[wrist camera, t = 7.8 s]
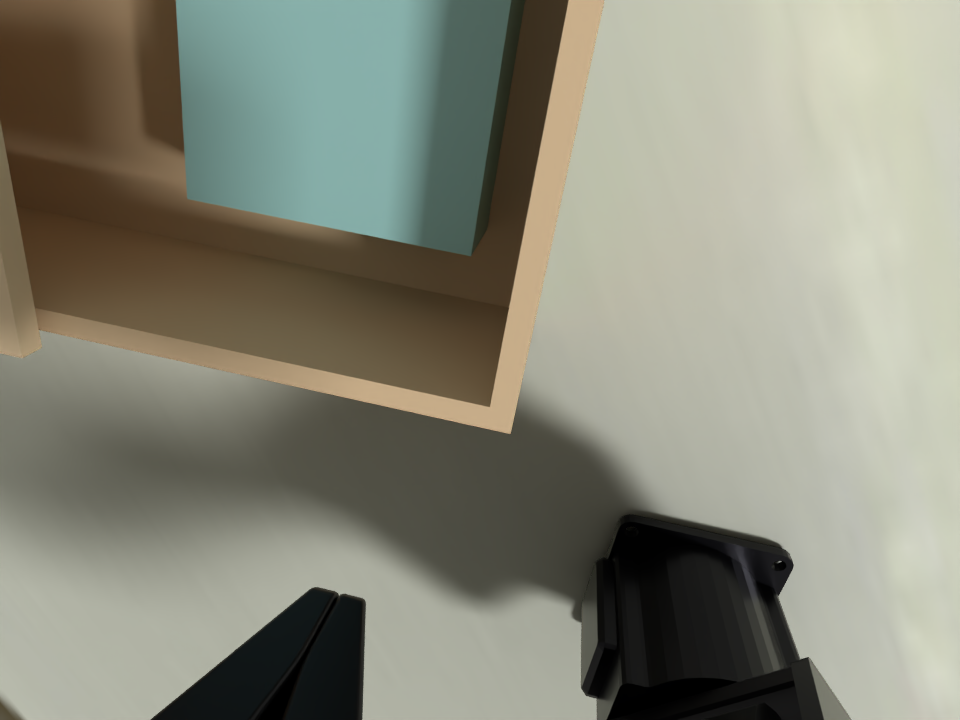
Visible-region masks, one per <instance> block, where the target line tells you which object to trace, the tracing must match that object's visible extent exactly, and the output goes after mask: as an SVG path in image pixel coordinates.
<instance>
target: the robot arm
mask: <svg viewBox="0 0 960 720" xmlns="http://www.w3.org/2000/svg"><path fill="white" fill-rule="evenodd" d="M628 527H635V528H636V529H635V530H627V529H626V528H628ZM776 561H781V562H780V563H774V562H776ZM793 566H794V565H793V562H792V559H791V557H790V554H789V553H788V552H787V551H786V550H784V549H781V548H777V547H773V546H768V545H764V544H760V543H755V542H751V541H746V540H742V539H738V538H733V537H729V536H724V535H720V534H716V533H711V532H707V531H702V530H698V529H694V528H689V527H685V526H680V525H676V524H672V523H667V522H663V521H658V520H654V519H649V518H645V517H641V516H636V515H626V516H623V517H622V518H620V520H619V521H618V523H617V526H616V529H615V532H614V535H613V538H612V541H611V544H610V547H609V550H608V553H607V556H606V558H600V559H599V560H597V561H596V562H595V565H594V568H593V571H592V574H591V577H590V580H589V583H588V586H587V589H586V592H585V596H584V599H583V602H582V630H581V689H582V690H583V692H584V693H585V695H586V696H589V697H593V698H597V720H851V718H850V717H849V715H848V714H847V712H846V711H845V709H844V708H843V706H842V705H841V703H840V702H839V700H838V699H837V698H836V696H835V695H834V693H833V692H832V690H831V689H830V687H829V686H828V684H827V683H826V681H825V680H824V678H823V677H822V675H821V674H820V672H819V671H818V669H817V668H816V667H815V665H814V664H813V662H812V661H811V659H810V658H809V657H807V658H804V659H800V657H799V654H798V651H797V648H796V646H795V643H794V640H793V637H792V634H791V632H790V629H789V626H788V623H787V620H786V618H785V615H784V612H783V609H782V606H781V604H780V601H779V598H778V596H779V594H780V592H781V590H782V588H783V587H784V585H785V583H786V581H787V579H788V577H789V575H790V573H791V571H792V570H793ZM365 612H366V602H365V600H364V599H363V598H359V597H355V596H351V595H347V594H341V595H340V596H339V594H338V593H337V592H335V591H331V590H327V589H323V588H319V587H314V588H311V589H310V590H308V591H307V592H306V593H305V594H304V595H302V596H301V597H300V598H299V599H297V600H296V601H295V602H294V603H293V604H291V605H290V606H289V607H288V608H286V609H285V610H284V611H283V612H282V613H280V614H279V615H278V616H277V617H275V618H274V619H273V620H272V621H271V622H269V623H268V624H267V625H266V626H264V627H263V628H262V629H261V630H260V631H258V632H257V633H256V634H255V635H253V636H252V637H251V638H250V639H249V640H247V641H246V642H245V643H244V644H242V645H241V646H240V647H239V648H238V649H236V650H235V651H234V652H233V653H231V654H230V655H229V656H228V657H227V658H225V659H224V660H223V661H222V662H220V663H219V664H218V665H217V666H216V667H214V668H213V669H212V670H211V671H209V672H208V673H207V674H206V675H205V676H203V677H202V678H201V679H200V680H198V681H197V682H196V683H195V684H194V685H192V686H191V687H190V688H189V689H187V690H186V691H185V692H184V693H183V694H181V695H180V696H179V697H178V698H176V699H175V700H174V701H173V702H172V703H170V704H169V705H168V706H167V707H165V708H164V709H163V710H162V711H160V712H159V713H158V714H157V715H156V716H154V717H153V718H152V719H151V720H362V712H363V679H364V646H365Z"/></svg>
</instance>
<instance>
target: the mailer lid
mask: <svg viewBox="0 0 960 720" xmlns="http://www.w3.org/2000/svg"><path fill="white" fill-rule="evenodd" d="M41 348H42V345H41V339H40V334H39V329H38V323H37V318H36V312H35V307H34V301H33V296H32V290H31V285H30V279H29V274H28V269H27V263H26V258H25V252H24V247H23V241H22V236H21V230H20V225H19V220H18V214H17V209H16V203H15V198H14V192H13V187H12V181H11V176H10V171H9V165H8V160H7V154H6V149H5V143H4V138H3V132H2V127H1V122H0V353H2V354H6V355H10V356H15V357H19V358H24V357H26V356H27V355H29V354H31V353H33V352H35V351H37V350H39V349H41Z"/></svg>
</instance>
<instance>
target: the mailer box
mask: <svg viewBox="0 0 960 720" xmlns="http://www.w3.org/2000/svg"><path fill="white" fill-rule="evenodd" d="M603 4H604V0H0V122H1V127H2V132H3V138H4V143H5V149H6V154H7V160H8V165H9V171H10V176H11V181H12V187H13V192H14V198H15V203H16V209H17V214H18V220H19V225H20V230H21V236H22V241H23V247H24V252H25V258H26V263H27V269H28V274H29V279H30V285H31V290H32V296H33V301H34V307H35V312H36V318H37V323H38V329H39V330H42V331H46V332H51V333H55V334H60V335H64V336H69V337H73V338H78V339H82V340H87V341H92V342H96V343H101V344H105V345H110V346H114V347H119V348H123V349H128V350H132V351H137V352H141V353H146V354H150V355H155V356H159V357H164V358H168V359H173V360H177V361H182V362H187V363H191V364H196V365H200V366H205V367H209V368H214V369H218V370H223V371H227V372H232V373H236V374H241V375H245V376H250V377H254V378H259V379H263V380H268V381H273V382H277V383H282V384H286V385H291V386H295V387H300V388H304V389H309V390H313V391H318V392H322V393H327V394H331V395H336V396H340V397H345V398H349V399H354V400H358V401H363V402H368V403H372V404H377V405H381V406H386V407H390V408H395V409H399V410H404V411H408V412H413V413H417V414H422V415H426V416H431V417H435V418H440V419H444V420H449V421H454V422H458V423H463V424H467V425H472V426H476V427H481V428H485V429H490V430H494V431H499V432H503V433H508V434H511V430H512V425H513V420H514V416H515V411H516V406H517V402H518V397H519V393H520V388H521V383H522V379H523V374H524V370H525V365H526V360H527V356H528V351H529V346H530V342H531V337H532V333H533V328H534V323H535V319H536V314H537V309H538V305H539V300H540V296H541V291H542V286H543V282H544V277H545V272H546V268H547V263H548V259H549V254H550V249H551V245H552V240H553V235H554V231H555V226H556V222H557V217H558V212H559V208H560V203H561V199H562V194H563V189H564V185H565V180H566V175H567V171H568V166H569V162H570V157H571V152H572V148H573V143H574V138H575V134H576V129H577V125H578V120H579V115H580V111H581V106H582V101H583V97H584V92H585V88H586V83H587V78H588V74H589V69H590V64H591V60H592V55H593V51H594V46H595V41H596V37H597V32H598V28H599V23H600V18H601V14H602V9H603Z"/></svg>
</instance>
